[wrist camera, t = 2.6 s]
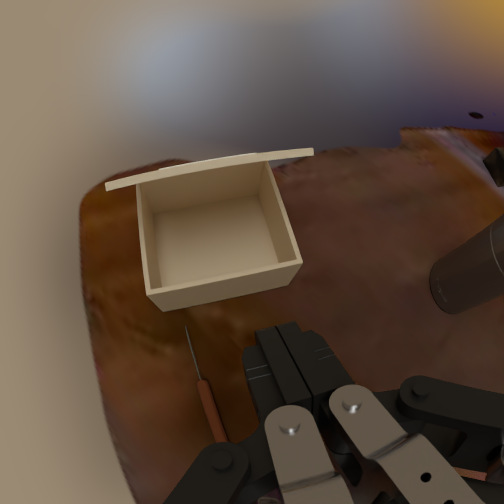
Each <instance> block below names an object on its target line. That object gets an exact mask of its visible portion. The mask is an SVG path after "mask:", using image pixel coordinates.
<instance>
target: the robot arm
mask: <svg viewBox="0 0 504 504" xmlns="http://www.w3.org/2000/svg"><path fill="white" fill-rule="evenodd" d="M430 286H431V291H432V294H433V297H434V299H435V301H436V302H437V304H438V305H439V306H440V308H441V309H443V310H444V311H445V312H447V313H450V314H457V313H460V312H463V311H465V310H468V309H470V308H473V307H476V306H478V305H480V304H483V303H485V302H488V301H490V300H492V299H494V298H497V297H499V296H501V295H503V294H504V214H503V215H501V216H500V217H499V218H498V219H496V220H495V221H494V222H493V223H491V224H490V225H489V226H487V227H486V228H485V229H483V230H482V231H481V232H479V233H478V234H476V235H475V236H474V237H472V238H471V239H469V240H468V241H467V242H465V243H464V244H462V245H461V246H460V247H458V248H457V249H455V250H454V251H452V252H451V253H449V254H448V255H446V256H445V257H443V258H442V259H440V260H439V261H438V262H436V263H435V265H434V266H433V268H432V270H431V274H430ZM255 340H256V345H254V346H250V347H246V348H244V352H243V356H242V361H243V366H244V371H245V376H246V381H247V386H248V389H249V392H250V395H251V398H252V401H253V404H254V407H255V410H256V413H257V416H258V419H259V422H260V424H259V426H258V428H257V430H256V431H255V432H254V433H253V434H252V435H251V436H249V437H248V438H246V439H244V440H243V441H241V442H239V443H237V444H234V443H230V442H217V443H214V444H211V445H209V446H207V447H206V448H204V449H203V450H202V451H201V452H200V454H199V455H198V456H197V458H196V459H195V461H194V462H193V464H192V465H191V466H190V468H189V469H188V471H187V472H186V473H185V475H184V476H183V477H182V479H181V480H180V482H179V483H178V484H177V486H176V487H175V488H174V490H173V491H172V492H171V494H170V495H169V496H168V498H167V499H166V500H165V502H164V503H163V504H256V503H257V501H258V499H259V498H261V497H263V496H264V495H266V494H268V493H269V492H271V491H273V490H274V489H276V488H278V492H279V496H280V500H281V504H504V394H500V393H495V392H490V391H485V390H481V389H476V388H472V387H467V386H463V385H458V384H454V383H450V382H446V381H442V380H438V379H434V378H430V377H426V376H412V377H410V378H408V379H406V380H405V381H404V382H403V383H402V384H401V386H400V389H398V390H391V391H384V392H370V391H369V390H368V389H367V388H365V387H363V386H360V385H356V384H355V383H354V382H353V380H352V379H351V377H350V376H349V374H348V373H347V371H346V370H345V369H344V367H343V366H342V364H341V363H340V361H339V360H338V359H337V357H336V356H335V355H334V353H333V351H332V350H331V349H330V348H329V346H328V344H327V343H326V341H325V340H324V339H323V337H322V336H320V335H319V334H317V333H315V332H314V331H312V330H310V331H306V332H303V333H302V331H301V329H300V328H299V326H298V325H297V323H296V322H295V321H292V322H288V323H284V324H280V325H276V326H275V327H274V326H273V327H269V328H265V329H261V330H257V331H255ZM320 433H321V435H322V437H323V439H324V443H323V441H322V438H321V436H320ZM330 460H331V461H330ZM331 462H332V463H333V465H334V466H335V468H336V470H337V471H338V473H336V472H335V470H334V468H333V466H332V463H331ZM452 466H453V467H458V468H463V469H468V470H473V471H479V472H485V473H487V475H486V477H485V481H482V480H477V479H472V478H468V477H463V476H460V475H459V474H458V473H457V472H456V471H455V470H454V469H453V468H452ZM346 485H347V486H346ZM347 487H348V488H349V490H350V493H351V496H350V493H349V491H348V488H347ZM351 497H352V498H351Z"/></svg>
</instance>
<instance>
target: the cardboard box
mask: <svg viewBox="0 0 504 504" xmlns="http://www.w3.org/2000/svg"><path fill="white" fill-rule="evenodd" d="M136 193H137V209H138V223H139V234H140V245H141V255H142V263H143V272H144V280H145V287H146V294H147V296H148V297H149V298H150V299H151V300H152V301H153V302H154V303H155V304H156V305H157V306H158V307H159V308H160V309H161V310H162V311H163V312H165V311H170V310H175V309H180V308H185V307H190V306H195V305H200V304H205V303H210V302H214V301H219V300H224V299H229V298H233V297H238V296H242V295H247V294H252V293H256V292H260V291H265V290H269V289H274V288H278V287H282V286H287V285H289V283H290V282H291V280H292V279H293V277H294V276H295V274H296V273H297V271H298V270H299V268H300V267H301V265H302V264H303V261H302V258H301V255H300V252H299V249H298V246H297V243H296V240H295V237H294V234H293V231H292V228H291V225H290V222H289V219H288V216H287V213H286V210H285V207H284V205H283V202H282V199H281V196H280V193H279V190H278V187H277V185H276V182H275V179H274V176H273V173H272V171H271V168H270V165H269V163H268V160H267V161H259V162H252V163H245V164H238V165H232V166H225V167H219V168H213V169H207V170H202V171H196V172H191V173H185V174H180V175H175V176H170V177H165V178H160V179H156V180H151V181H146V182H142V183H137V184H136Z"/></svg>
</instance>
